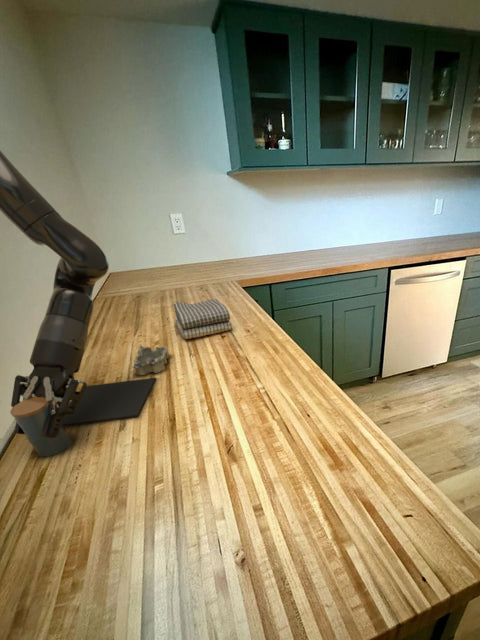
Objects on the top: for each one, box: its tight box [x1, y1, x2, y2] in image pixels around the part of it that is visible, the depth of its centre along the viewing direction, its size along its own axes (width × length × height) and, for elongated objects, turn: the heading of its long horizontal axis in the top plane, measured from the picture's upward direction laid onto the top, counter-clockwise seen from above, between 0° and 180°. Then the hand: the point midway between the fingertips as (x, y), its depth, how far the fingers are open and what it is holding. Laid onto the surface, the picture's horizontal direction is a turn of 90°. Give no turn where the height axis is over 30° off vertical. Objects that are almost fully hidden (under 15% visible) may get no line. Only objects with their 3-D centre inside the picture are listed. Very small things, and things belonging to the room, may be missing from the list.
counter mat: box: [62, 377, 157, 428], centre depth 74 cm, size 17×15×1 cm
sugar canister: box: [10, 396, 72, 458], centre depth 60 cm, size 6×6×10 cm
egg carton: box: [132, 345, 170, 376], centre depth 87 cm, size 11×8×4 cm
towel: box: [173, 298, 232, 340], centre depth 106 cm, size 15×18×8 cm
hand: (35, 435), depth 59 cm, fingers closed on sugar canister, 5 cm apart
